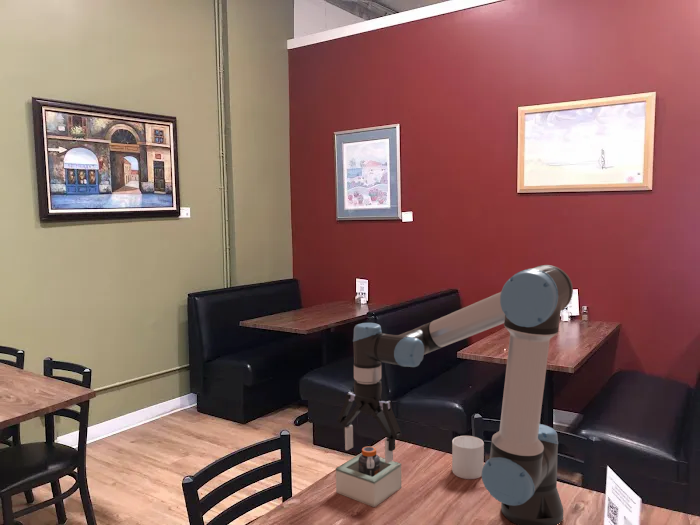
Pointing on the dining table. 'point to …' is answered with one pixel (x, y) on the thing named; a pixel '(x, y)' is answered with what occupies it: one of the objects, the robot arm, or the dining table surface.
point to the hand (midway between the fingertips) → (368, 454)
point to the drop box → (368, 481)
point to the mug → (467, 457)
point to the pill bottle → (369, 461)
